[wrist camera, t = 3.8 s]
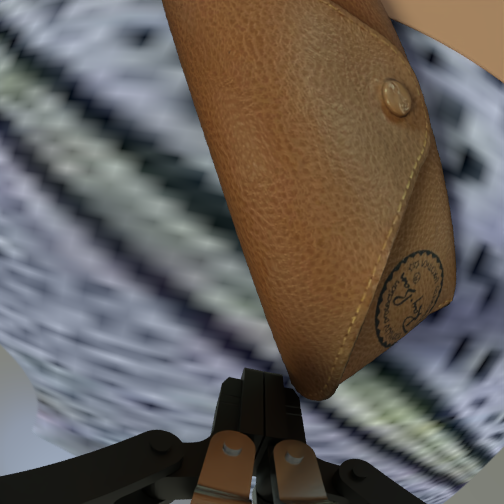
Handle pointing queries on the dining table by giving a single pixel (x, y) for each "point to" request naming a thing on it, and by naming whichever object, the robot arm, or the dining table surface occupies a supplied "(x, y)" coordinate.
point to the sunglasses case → (322, 173)
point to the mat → (458, 27)
